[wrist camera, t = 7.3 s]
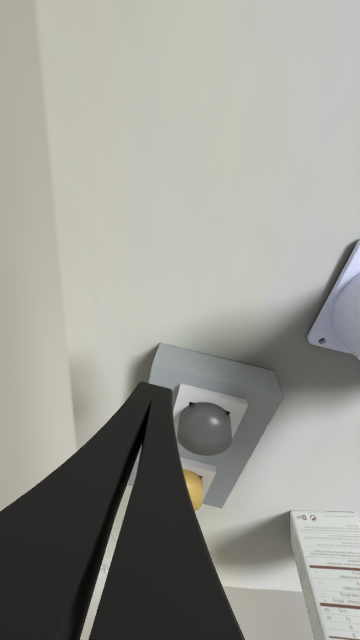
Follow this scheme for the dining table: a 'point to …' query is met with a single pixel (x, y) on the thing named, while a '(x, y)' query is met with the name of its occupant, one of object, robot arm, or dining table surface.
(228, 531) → the dining table surface
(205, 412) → the knob
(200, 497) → the knob
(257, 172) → the dining table surface
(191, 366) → the mount plate
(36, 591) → the robot arm
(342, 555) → the supplement box
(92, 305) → the dining table surface
